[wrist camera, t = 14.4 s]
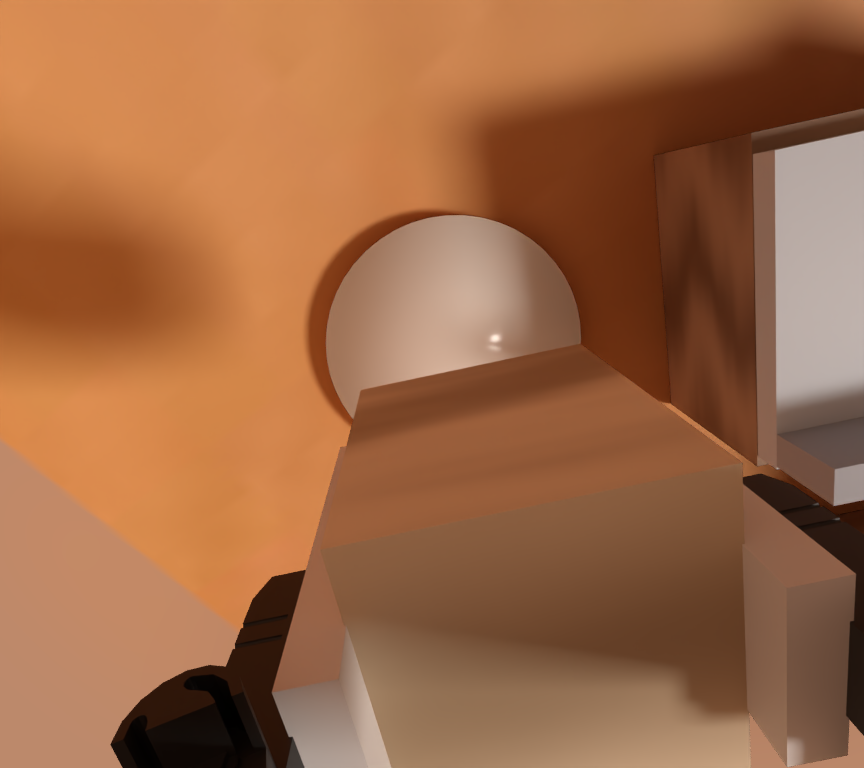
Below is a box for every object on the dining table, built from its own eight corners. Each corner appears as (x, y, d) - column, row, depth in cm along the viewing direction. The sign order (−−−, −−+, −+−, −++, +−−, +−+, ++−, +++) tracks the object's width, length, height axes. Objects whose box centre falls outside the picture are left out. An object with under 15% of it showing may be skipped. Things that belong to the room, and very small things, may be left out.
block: (360, 389, 12) (319, 549, 6) (580, 343, 12) (742, 462, 6) (408, 573, 14) (411, 837, 8) (603, 533, 13) (751, 771, 8)
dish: (298, 245, 22) (294, 247, 21) (558, 189, 22) (563, 188, 21) (362, 477, 26) (360, 485, 25) (588, 431, 25) (594, 437, 25)
